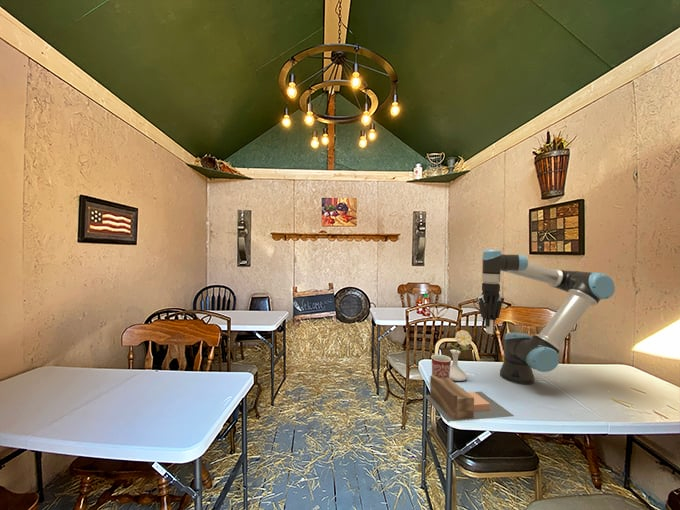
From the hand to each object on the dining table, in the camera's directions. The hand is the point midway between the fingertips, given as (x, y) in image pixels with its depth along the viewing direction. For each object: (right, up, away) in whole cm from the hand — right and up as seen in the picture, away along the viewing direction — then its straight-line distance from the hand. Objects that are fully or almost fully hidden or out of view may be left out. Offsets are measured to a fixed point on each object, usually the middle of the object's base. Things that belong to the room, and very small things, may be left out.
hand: (489, 333), depth 135 cm
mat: (-17, -26, -15) cm, 35 cm away
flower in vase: (-11, -26, +12) cm, 31 cm away
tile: (-17, -26, -15) cm, 34 cm away
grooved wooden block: (-25, -25, -16) cm, 39 cm away
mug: (-22, -26, +5) cm, 34 cm away
